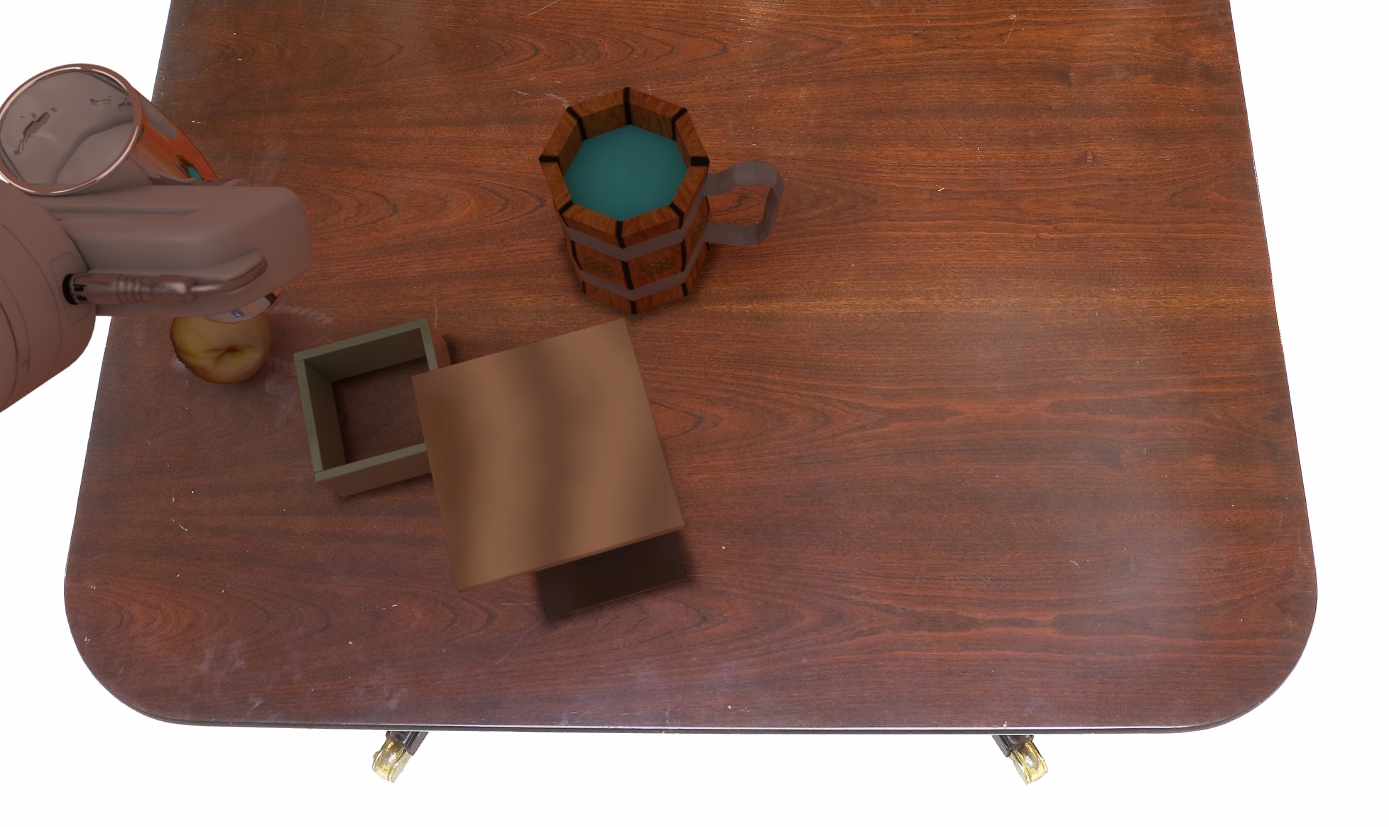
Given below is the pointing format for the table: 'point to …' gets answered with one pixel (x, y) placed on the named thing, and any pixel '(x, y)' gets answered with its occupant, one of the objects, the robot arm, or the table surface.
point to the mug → (643, 198)
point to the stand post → (611, 575)
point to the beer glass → (98, 144)
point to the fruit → (221, 347)
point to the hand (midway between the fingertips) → (155, 193)
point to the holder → (320, 409)
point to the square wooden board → (544, 455)
